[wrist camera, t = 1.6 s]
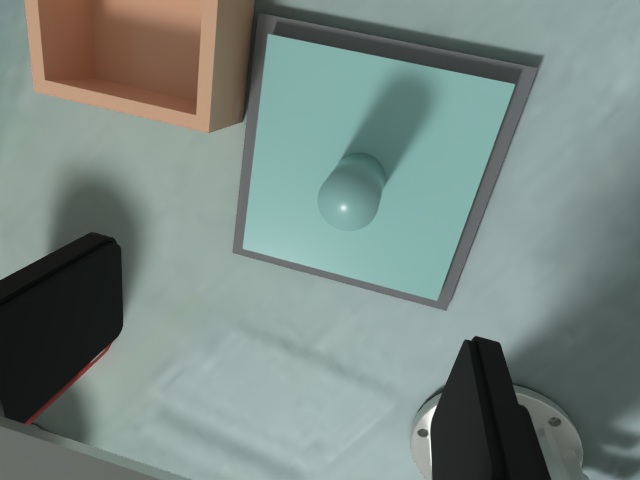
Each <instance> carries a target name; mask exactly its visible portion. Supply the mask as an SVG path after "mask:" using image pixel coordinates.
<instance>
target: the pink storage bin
mask: <svg viewBox="0 0 640 480" xmlns="http://www.w3.org/2000/svg"><path fill="white" fill-rule="evenodd" d="M254 5H255V0H25V9H26V18H27V28H28V38H29V48H30V57H31V67H32V77H33V86H34V92H38V93H42V94H46V95H50V96H55V97H59V98H63V99H67V100H71V101H76V102H80V103H84V104H88V105H93V106H97V107H101V108H105V109H109V110H114V111H118V112H122V113H126V114H131V115H135V116H139V117H143V118H147V119H152V120H156V121H160V122H164V123H169V124H173V125H177V126H181V127H185V128H190V129H194V130H198V131H202V132H207V133H210V132H213V131H216V130H219V129H222V128H225V127H228V126H231V125H234V124H237V123H240V122H243V112H244V102H245V92H246V83H247V73H248V63H249V53H250V44H251V34H252V24H253V14H254Z"/></svg>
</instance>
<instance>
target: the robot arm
mask: <svg viewBox="0 0 640 480" xmlns="http://www.w3.org/2000/svg"><path fill="white" fill-rule="evenodd" d="M122 327H123V301H122V266H121V248H120V246H119V245H118V244H117V242H116V240H115V239H114V238H113V237H109V236H105V235H102V234H98V233H93V232H92V233H89V234H87V235H85V236H83V237H81V238H79V239H77V240H75V241H73V242H72V243H70V244H68V245H66V246H64V247H62V248H60V249H58V250H56V251H55V252H53V253H51V254H49V255H47V256H45V257H43V258H41V259H39V260H38V261H36V262H34V263H32V264H30V265H28V266H26V267H24V268H22V269H21V270H19V271H17V272H15V273H13V274H11V275H9V276H7V277H5V278H4V279H2V280H0V480H191V479H188V478H185V477H182V476H179V475H176V474H173V473H170V472H167V471H164V470H162V469H159V468H156V467H153V466H150V465H147V464H144V463H141V462H138V461H135V460H132V459H129V458H126V457H123V456H120V455H117V454H114V453H111V452H108V451H105V450H102V449H99V448H96V447H93V446H90V445H87V444H84V443H81V442H78V441H75V440H72V439H68V438H65V437H62V436H59V435H56V434H53V433H50V432H47V431H44V430H41V429H38V428H35V427H32V426H29V425H26V424H24V423H25V422H27V421H28V420H29V419H30V418H31V417H32V416H33V415H34V414H35V413H36V412H37V411H38V410H39V409H41V408H42V407H43V406H44V405H45V404H46V403H47V402H48V401H49V400H50V399H51V398H52V397H53V396H55V395H56V394H57V393H58V392H59V391H60V390H61V389H62V388H63V387H64V386H65V385H66V384H67V383H68V382H70V381H71V380H72V379H73V378H74V377H75V376H76V375H77V374H78V373H79V372H80V371H81V370H82V369H84V368H85V367H86V366H87V365H88V364H89V363H90V362H91V361H92V360H93V359H94V358H95V357H96V356H98V355H99V354H100V353H101V352H102V351H103V350H104V349H105V348H106V347H107V346H108V345H109V344H110V343H111V342H113V341H114V340H115V339H116V338H117V337H118V336H119V334H120V333H121V330H122ZM410 449H411V453H412V458H413V460H414V463H415V465H416V467H417V469H418V470H419V472H420V473H421V474H422V475H423V477H424V478H425V479H426V480H589V478H588V477H587V476H586V475H585V474H584V473H583V471H582V468H581V467H582V462H583V448H582V442H581V440H580V437H579V435H578V432H577V430H576V428H575V426H574V424H573V423H572V421H571V420H570V418H569V416H568V415H567V414H566V413H565V412H564V411H563V410H562V409H561V408H560V407H559V406H558V405H557V404H555V403H554V402H552V401H551V400H549V399H548V398H547V397H545V396H543V395H541V394H539V393H537V392H534V391H532V390H530V389H527V388H523V387H520V386H516V385H513V384H512V380H511V377H510V374H509V371H508V367H507V364H506V361H505V357H504V354H503V351H502V348H501V345H500V343H499V342H496V341H492V340H489V339H485V338H481V337H478V336H475V337H474V338H473V339H472V341H470V340H465V341H464V342H463V344H462V346H461V349H460V351H459V354H458V356H457V358H456V361H455V363H454V366H453V368H452V370H451V373H450V375H449V378H448V380H447V383H446V385H445V387H444V390H443V392H442V393H440V394H438V395H436V396H434V397H433V398H432V399H431V400H429V401H428V402H427V403H426V404H424V406H423V407H422V408H421V409H420V411H419V412H418V413H417V415H416V417H415V419H414V421H413V423H412V428H411V434H410Z"/></svg>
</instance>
